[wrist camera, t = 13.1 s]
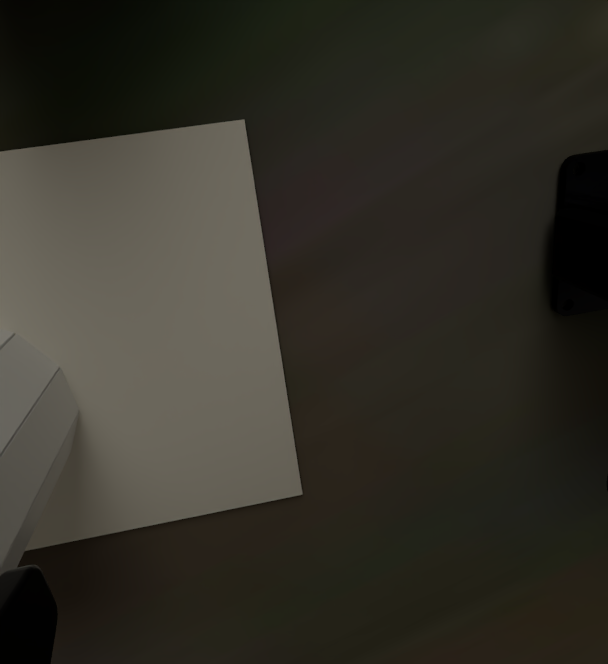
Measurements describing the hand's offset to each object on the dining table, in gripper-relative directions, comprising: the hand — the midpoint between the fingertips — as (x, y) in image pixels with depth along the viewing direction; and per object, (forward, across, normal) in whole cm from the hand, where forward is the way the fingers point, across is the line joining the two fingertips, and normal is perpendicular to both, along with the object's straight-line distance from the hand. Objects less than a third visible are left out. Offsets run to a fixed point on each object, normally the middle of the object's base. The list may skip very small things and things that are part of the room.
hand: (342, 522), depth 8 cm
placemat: (+13, +8, +2) cm, 15 cm away
